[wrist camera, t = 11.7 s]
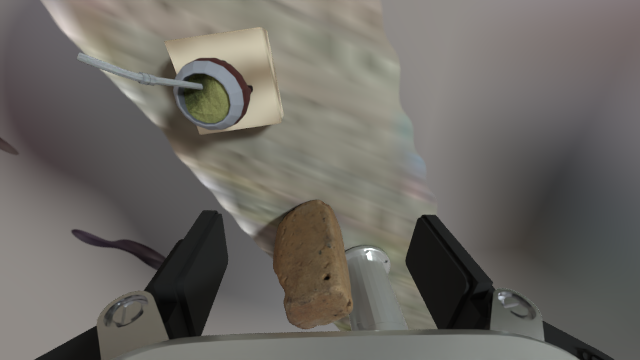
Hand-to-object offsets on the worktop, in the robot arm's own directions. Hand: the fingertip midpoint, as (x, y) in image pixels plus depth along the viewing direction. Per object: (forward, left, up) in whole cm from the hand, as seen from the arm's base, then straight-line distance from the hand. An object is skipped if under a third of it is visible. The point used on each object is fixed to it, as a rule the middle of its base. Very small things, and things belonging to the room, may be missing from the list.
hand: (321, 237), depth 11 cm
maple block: (+3, +10, -29) cm, 31 cm away
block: (-20, -2, -29) cm, 36 cm away
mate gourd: (+3, +11, -24) cm, 26 cm away
